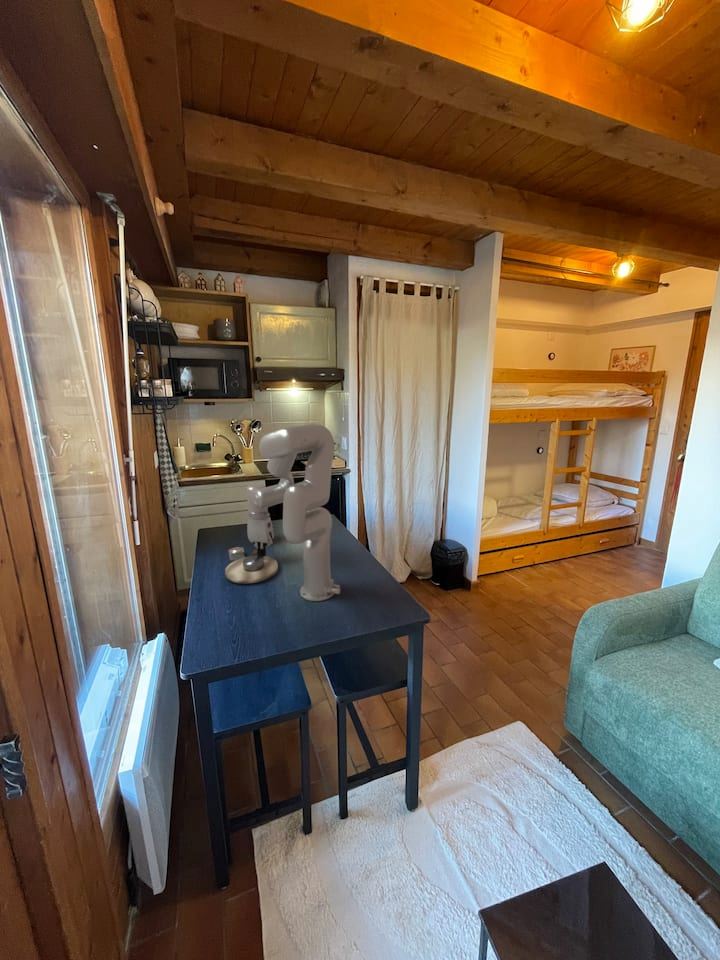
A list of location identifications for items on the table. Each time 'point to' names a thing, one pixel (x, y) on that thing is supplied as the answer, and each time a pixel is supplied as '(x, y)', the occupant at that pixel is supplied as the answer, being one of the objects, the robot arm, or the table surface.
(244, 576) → the turntable
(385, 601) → the table surface
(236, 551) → the dial gauge
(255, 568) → the disc
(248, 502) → the robot arm
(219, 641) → the table surface
